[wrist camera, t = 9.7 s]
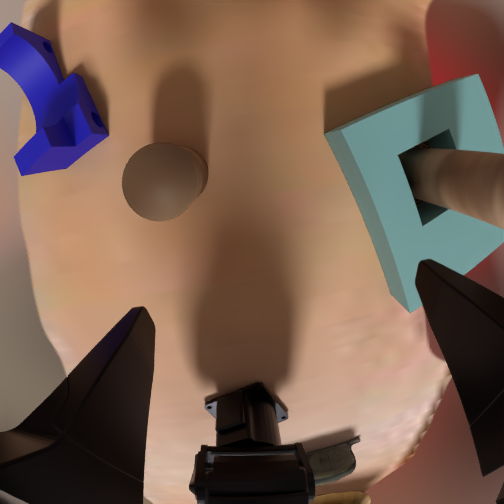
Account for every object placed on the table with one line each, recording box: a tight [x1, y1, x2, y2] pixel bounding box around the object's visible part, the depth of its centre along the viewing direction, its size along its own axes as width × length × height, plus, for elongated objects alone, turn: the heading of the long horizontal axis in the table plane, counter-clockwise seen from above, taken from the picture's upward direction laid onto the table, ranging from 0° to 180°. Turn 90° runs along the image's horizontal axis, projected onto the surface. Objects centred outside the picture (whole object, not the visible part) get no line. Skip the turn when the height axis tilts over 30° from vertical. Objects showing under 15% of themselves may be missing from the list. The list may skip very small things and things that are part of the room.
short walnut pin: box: [122, 143, 208, 221], centre depth 17 cm, size 4×4×6 cm
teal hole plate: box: [324, 74, 504, 313], centre depth 19 cm, size 15×15×4 cm
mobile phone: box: [306, 438, 360, 486], centre depth 29 cm, size 5×3×15 cm
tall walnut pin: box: [398, 148, 504, 229], centre depth 14 cm, size 4×4×12 cm
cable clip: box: [0, 23, 109, 176], centre depth 14 cm, size 12×4×6 cm, turn 27°
